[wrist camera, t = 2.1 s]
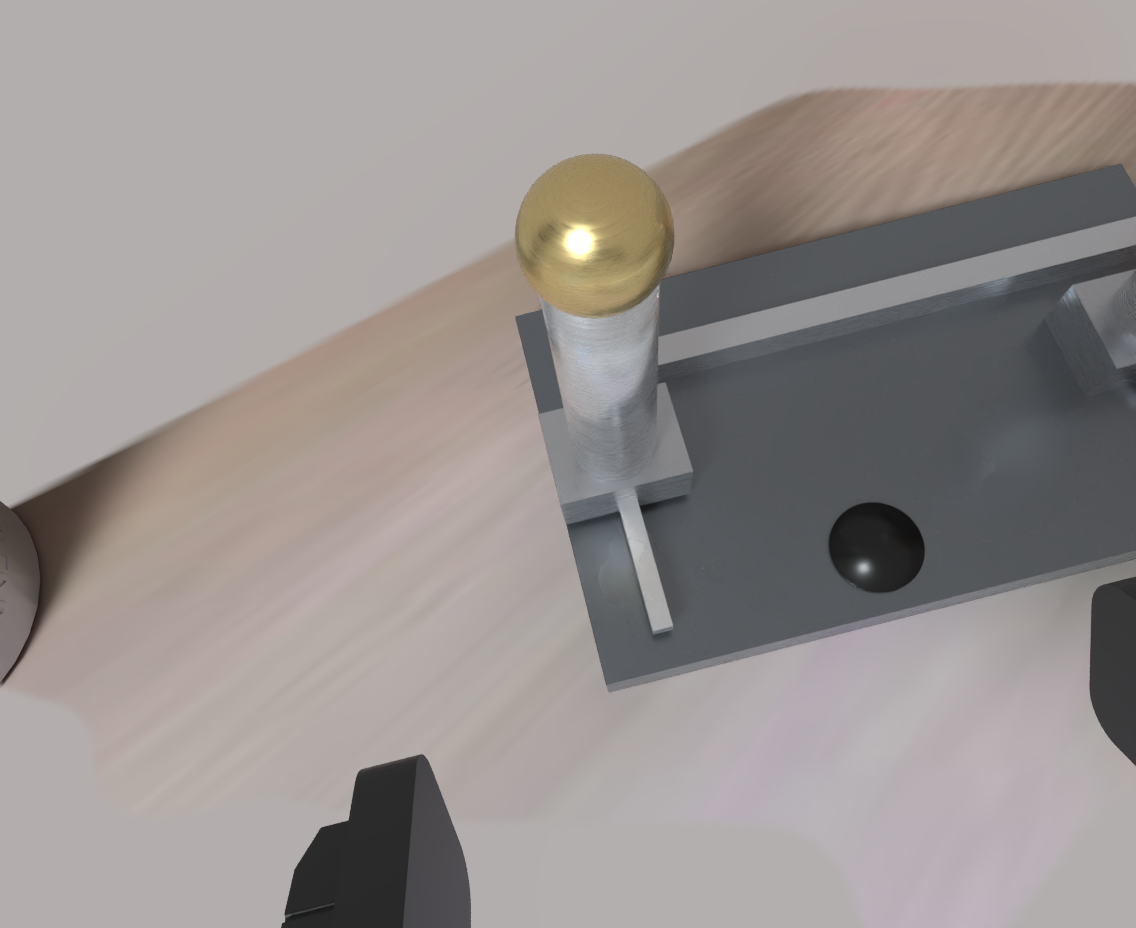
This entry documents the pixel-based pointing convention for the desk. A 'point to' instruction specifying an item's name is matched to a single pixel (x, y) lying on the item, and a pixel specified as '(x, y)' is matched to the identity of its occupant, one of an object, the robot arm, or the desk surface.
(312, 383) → the desk surface
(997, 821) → the desk surface
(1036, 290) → the plate
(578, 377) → the gold topped lever
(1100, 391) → the silver ball-topped post
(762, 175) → the desk surface
